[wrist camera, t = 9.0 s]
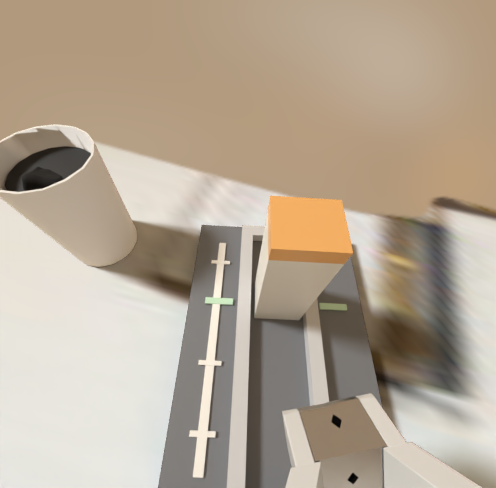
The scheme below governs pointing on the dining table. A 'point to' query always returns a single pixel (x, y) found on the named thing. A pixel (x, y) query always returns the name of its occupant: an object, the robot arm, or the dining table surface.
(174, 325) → the dining table surface
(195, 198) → the dining table surface
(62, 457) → the dining table surface
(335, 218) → the fader
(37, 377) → the dining table surface
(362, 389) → the console
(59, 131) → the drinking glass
